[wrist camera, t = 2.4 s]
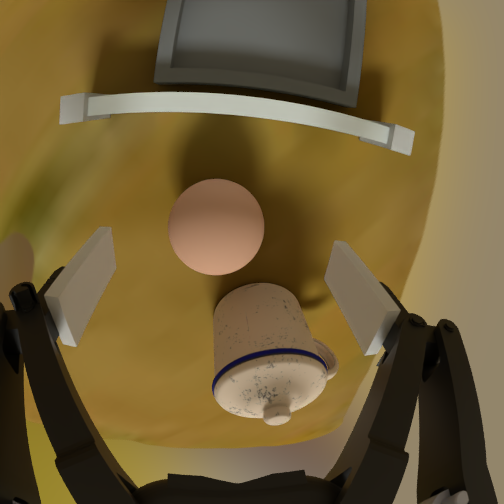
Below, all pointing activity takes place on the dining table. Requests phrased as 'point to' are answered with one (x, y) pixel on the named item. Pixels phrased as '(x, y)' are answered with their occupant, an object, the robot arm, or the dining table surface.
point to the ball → (216, 227)
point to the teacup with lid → (266, 354)
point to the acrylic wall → (234, 113)
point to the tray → (265, 46)
